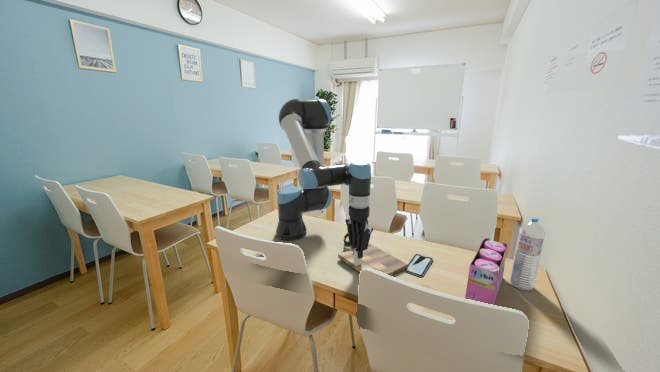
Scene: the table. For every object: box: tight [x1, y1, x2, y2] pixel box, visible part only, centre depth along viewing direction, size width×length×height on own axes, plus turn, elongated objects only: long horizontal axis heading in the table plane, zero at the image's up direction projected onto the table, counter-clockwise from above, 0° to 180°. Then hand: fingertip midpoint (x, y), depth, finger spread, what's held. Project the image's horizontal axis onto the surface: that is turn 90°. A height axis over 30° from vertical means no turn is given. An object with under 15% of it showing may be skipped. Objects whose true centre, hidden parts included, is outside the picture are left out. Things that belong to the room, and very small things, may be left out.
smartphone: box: [403, 253, 434, 278], centre depth 106 cm, size 7×1×15 cm
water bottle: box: [509, 217, 546, 292], centre depth 90 cm, size 7×7×25 cm
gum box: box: [464, 237, 509, 306], centre depth 91 cm, size 24×8×14 cm, turn 141°
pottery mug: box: [343, 232, 352, 248], centre depth 123 cm, size 12×10×8 cm
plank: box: [337, 249, 394, 277], centre depth 105 cm, size 21×10×2 cm, turn 36°
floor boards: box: [363, 243, 409, 276], centre depth 111 cm, size 21×8×2 cm, turn 36°
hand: (357, 264), depth 103 cm, fingers closed
